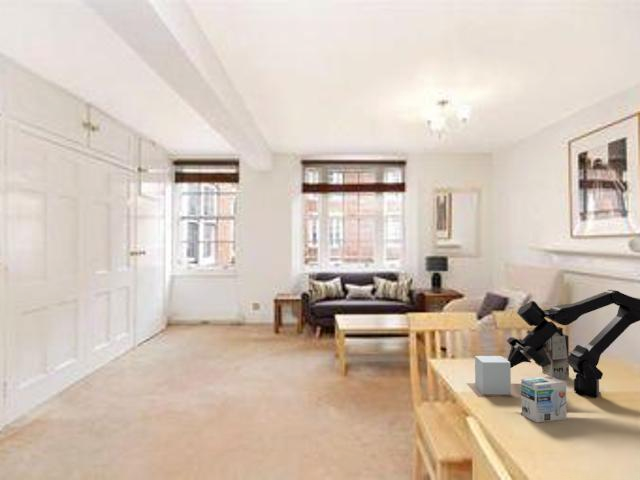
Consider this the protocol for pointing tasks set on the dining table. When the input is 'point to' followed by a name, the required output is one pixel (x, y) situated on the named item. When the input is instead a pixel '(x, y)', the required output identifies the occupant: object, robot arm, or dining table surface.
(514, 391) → the podium board
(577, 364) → the robot arm
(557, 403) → the light bulb box
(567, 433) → the dining table surface
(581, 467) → the dining table surface
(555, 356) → the coffee box
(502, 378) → the carton
